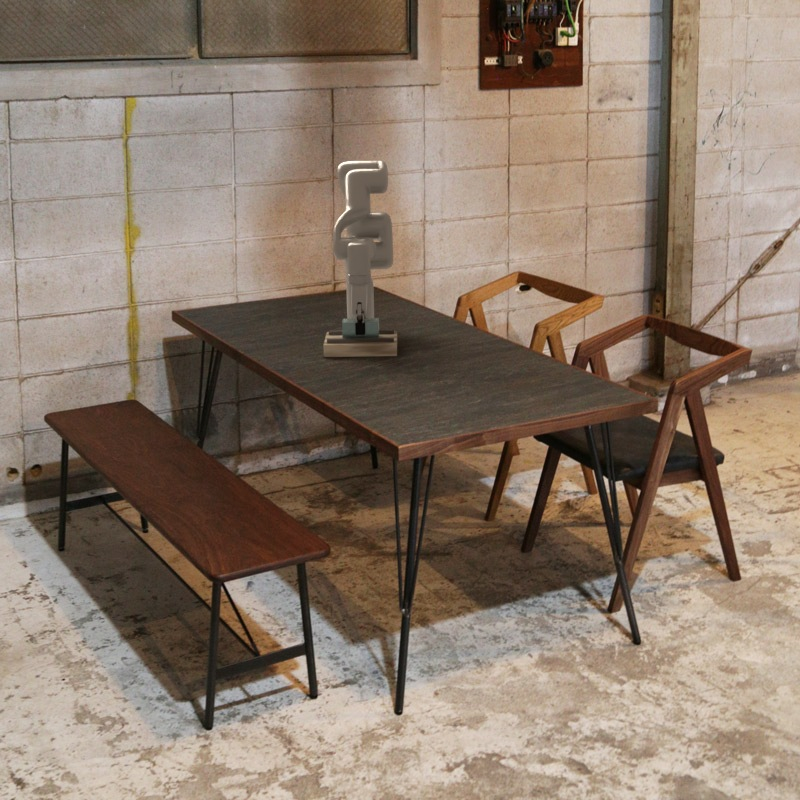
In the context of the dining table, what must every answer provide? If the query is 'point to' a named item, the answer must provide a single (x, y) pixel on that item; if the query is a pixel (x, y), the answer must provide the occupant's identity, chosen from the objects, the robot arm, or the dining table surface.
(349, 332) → the housing
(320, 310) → the dining table surface
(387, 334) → the stand
